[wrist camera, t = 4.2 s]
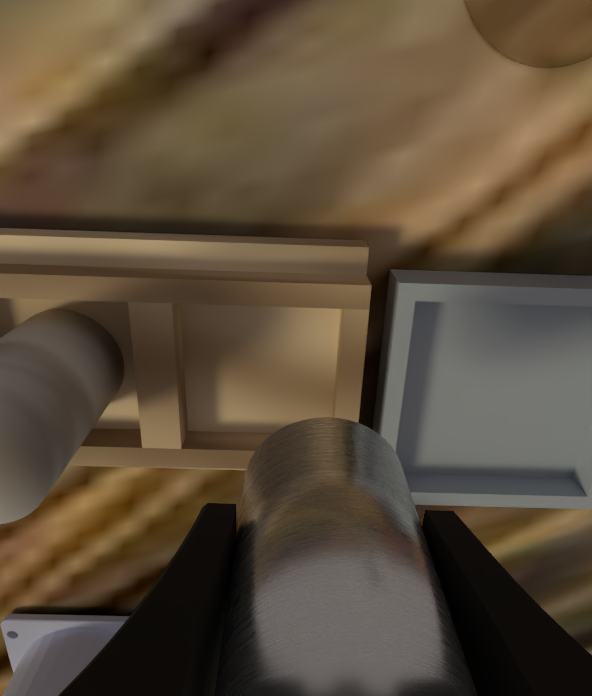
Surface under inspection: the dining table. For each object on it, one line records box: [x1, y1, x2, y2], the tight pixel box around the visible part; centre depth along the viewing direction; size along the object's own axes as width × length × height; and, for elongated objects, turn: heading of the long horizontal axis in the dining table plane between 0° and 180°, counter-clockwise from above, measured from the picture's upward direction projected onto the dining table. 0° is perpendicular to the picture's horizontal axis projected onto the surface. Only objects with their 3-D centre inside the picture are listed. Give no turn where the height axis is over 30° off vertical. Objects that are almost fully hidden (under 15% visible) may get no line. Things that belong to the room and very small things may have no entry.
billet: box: [214, 417, 478, 696], centre depth 10 cm, size 4×4×6 cm
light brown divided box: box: [0, 228, 372, 524], centre depth 16 cm, size 9×14×7 cm, turn 88°
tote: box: [372, 269, 592, 509], centre depth 19 cm, size 9×9×2 cm
